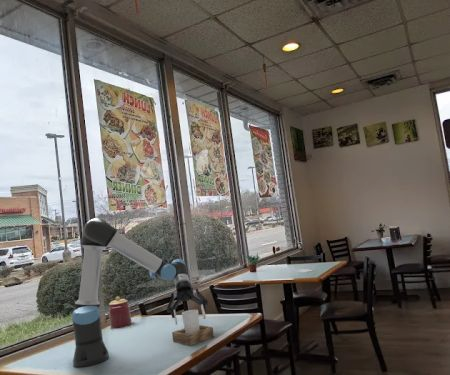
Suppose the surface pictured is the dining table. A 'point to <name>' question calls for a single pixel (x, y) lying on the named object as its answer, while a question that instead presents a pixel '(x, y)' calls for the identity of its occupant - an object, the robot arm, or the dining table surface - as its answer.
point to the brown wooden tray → (193, 335)
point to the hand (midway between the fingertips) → (190, 320)
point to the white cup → (191, 321)
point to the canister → (119, 313)
